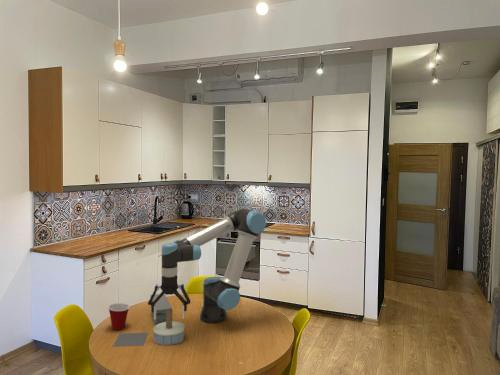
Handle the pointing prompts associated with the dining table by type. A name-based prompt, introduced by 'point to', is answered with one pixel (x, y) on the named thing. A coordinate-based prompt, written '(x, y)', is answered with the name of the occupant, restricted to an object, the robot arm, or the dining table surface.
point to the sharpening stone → (160, 309)
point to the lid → (168, 326)
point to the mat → (130, 339)
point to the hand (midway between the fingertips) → (169, 318)
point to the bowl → (169, 339)
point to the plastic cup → (118, 315)
